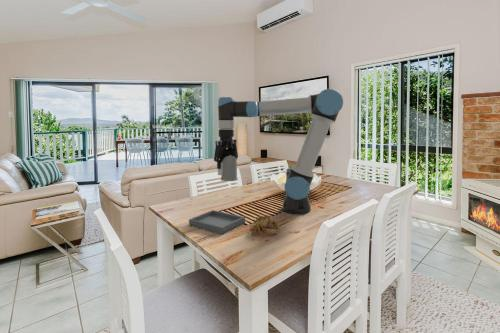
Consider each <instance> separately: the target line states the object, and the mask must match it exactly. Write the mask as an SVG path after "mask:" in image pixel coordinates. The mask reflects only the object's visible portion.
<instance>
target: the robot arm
mask: <svg viewBox="0 0 500 333" xmlns="http://www.w3.org/2000/svg"><path fill="white" fill-rule="evenodd" d="M217 103H218V104H217V109H218V110H217V111H218V113H217V114H218V137H219V140H215V148H214V156H213V162H216V169H217V175H218V176H221V175H223V162H222V158H223V152H222V150H224V151H225V150H226V149H230V150H232V149H236V158H237V159H238V158H239V156H238V155H239V153H238V147H237V139H233V138H234V136H235V134H234V132H235V130H234V128H235V124H234V122H235V120H234V118H236V117H237V118H256V117H267V116H278V115H279V116H281V115H291V114H292V115H293V114H305V113H306V114H307V113H309V115H311V118H312V120H311V123H310V125H309V128H308V131H307V133H306V136H305V139H304V140H303V141H304V142H303V144H302V146H301V150H300V151H299V155H298V158H297V159H296V160H297V161H296V164H295V165H294V166H291V167H288V168H286V172H285V174H286V179H285V183H284V190H285V198H284V200H283V204H282V210H283V212H286V213H289V214H296V215H300V214H301V215H302V214H303V215H304V214H307V213H310V212H311V211H312V209H311V208H312V207H311V203H310V198H309V197H308V195H309V193H310V190H311V185H312V182H313V180H314V177H315V176H314V173H313V171H314V168H315V165H316V163H317V160H318V158H319V155H320V152H321V150H322V147H323V144H324V143H325V140H326V137H327V134H328V131H329V129H330V126H331V124H334V123H335V122H336V120H337V117H338V115H339V113H340V111H341V110H342V109H343V106H344V97H343V96H342V94H341V93H340V91H338V90H337V89H335V88H334V89H333V88H325V89H323V90H322V91H320V93H317V94H310V95H309V96H308V97H298V98H297V97H296V98H287V99H275V100H266V101H265V100H264V101H253V100H252V101H251V100H249V101H244V100H243V101H237V100H236V101H235V100H234V97H232V96H227V97H226V96H221V97H219V98H218V100H217Z"/></svg>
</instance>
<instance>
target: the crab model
mask: <svg viewBox="0 0 500 333" xmlns="http://www.w3.org/2000/svg"><path fill="white" fill-rule="evenodd" d="M255 219H256V220H254V222H253V223H252V224H253V225H249V226H250V228H249V230H248V231H250V232H251V231H252V236H253V235H254V236H255V233H256V231H258V233H259V235H260V236H261V237H263V238H265V237H264V235H263V233H262V231H263V232H265V233H267V234H271V235H277V234H278V233H280V232H279V230H280V227H279V223H278V221H276V220H271V218H270V216H268V215H264V216H263V215H262V216H261V215H260V216H257V217H255ZM269 225H272V226H273V228H266V227H267V226H269ZM253 229H254V230H253ZM261 230H262V231H261Z"/></svg>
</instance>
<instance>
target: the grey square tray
mask: <svg viewBox="0 0 500 333" xmlns="http://www.w3.org/2000/svg"><path fill="white" fill-rule="evenodd" d="M244 224H246V217H245V216H242V215H236V214H232V213H228V212H223V211H218V210H215V209H212V210H209V211H207V212H205V213H202V214H200V215H197V216H194V217H192V218H190V219H188V226H189V225H191V226H190V227H192V226H194V227H193V228H196V227H198V228H197V229H200V228H201V229H200V230H203V229H205V230H204V231H207V230H208V231H207V232H211V231H212V233H214V232H215V234H218V233H219V234H220V235H222V234H223V235H225V234H227V233H229V232H231V231H233V230H235V229H237V228H238V227H240V226H243V225H244ZM236 227H237V228H236ZM234 228H235V229H234ZM232 229H233V230H232ZM230 230H231V231H230ZM228 231H229V232H228ZM226 232H227V233H226ZM224 233H225V234H224ZM219 234H218V235H219Z"/></svg>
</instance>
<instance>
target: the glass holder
mask: <svg viewBox="0 0 500 333" xmlns="http://www.w3.org/2000/svg"><path fill="white" fill-rule="evenodd" d="M222 152H223V158H222V162H223V175H220V176H221V177H220V181H222V182H234V181H238V179H239V178H238V158H236V149H232V150H230V149H227V148H226V150H225V151H224V150H222Z"/></svg>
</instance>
